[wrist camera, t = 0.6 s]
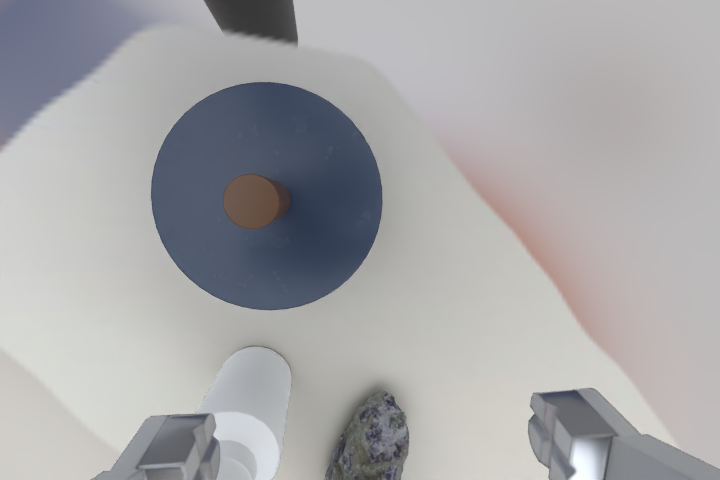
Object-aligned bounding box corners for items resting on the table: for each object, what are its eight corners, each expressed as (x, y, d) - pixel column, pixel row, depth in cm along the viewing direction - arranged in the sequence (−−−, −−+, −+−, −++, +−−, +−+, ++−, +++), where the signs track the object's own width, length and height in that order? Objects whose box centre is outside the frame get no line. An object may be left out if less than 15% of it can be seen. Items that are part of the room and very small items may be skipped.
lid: (128, 114, 24) (32, 73, 16) (352, 66, 25) (367, 4, 17) (195, 328, 26) (140, 388, 18) (399, 275, 27) (433, 309, 19)
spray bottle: (207, 395, 36) (96, 592, 18) (239, 333, 35) (158, 471, 18) (272, 422, 37) (229, 634, 19) (304, 362, 36) (290, 521, 19)
